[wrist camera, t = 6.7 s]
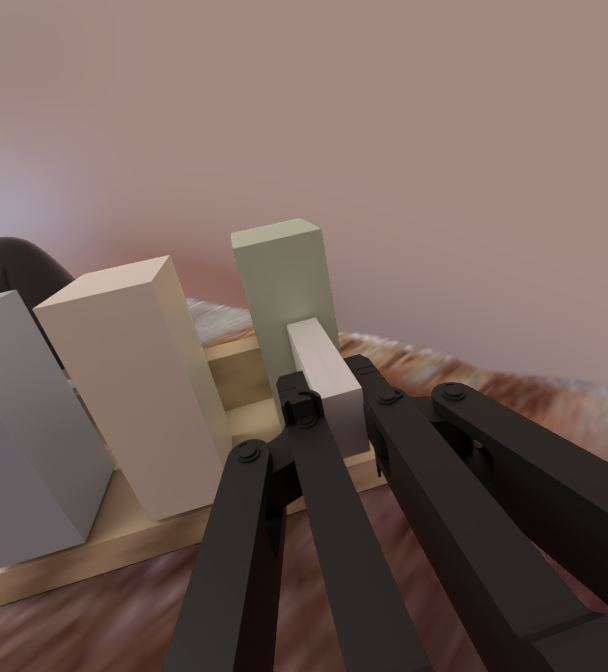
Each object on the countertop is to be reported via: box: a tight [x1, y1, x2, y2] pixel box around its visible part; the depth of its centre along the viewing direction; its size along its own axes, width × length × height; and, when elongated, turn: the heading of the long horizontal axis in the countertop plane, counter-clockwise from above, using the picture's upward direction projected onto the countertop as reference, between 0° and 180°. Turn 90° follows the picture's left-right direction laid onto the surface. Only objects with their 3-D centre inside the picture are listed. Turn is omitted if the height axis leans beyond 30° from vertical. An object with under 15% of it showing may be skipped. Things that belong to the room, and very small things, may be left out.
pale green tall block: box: [231, 218, 341, 431], centre depth 20 cm, size 4×5×11 cm
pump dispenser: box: [0, 237, 75, 380], centre depth 34 cm, size 10×10×15 cm
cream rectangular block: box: [33, 255, 232, 522], centre depth 17 cm, size 4×5×11 cm
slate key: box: [0, 290, 115, 568], centre depth 16 cm, size 4×5×11 cm
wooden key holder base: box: [0, 336, 388, 606], centre depth 21 cm, size 20×10×6 cm, turn 102°
